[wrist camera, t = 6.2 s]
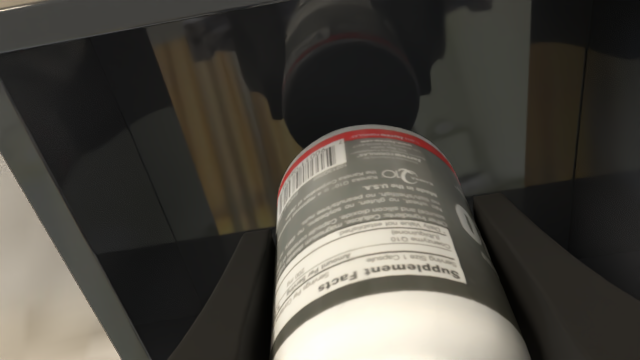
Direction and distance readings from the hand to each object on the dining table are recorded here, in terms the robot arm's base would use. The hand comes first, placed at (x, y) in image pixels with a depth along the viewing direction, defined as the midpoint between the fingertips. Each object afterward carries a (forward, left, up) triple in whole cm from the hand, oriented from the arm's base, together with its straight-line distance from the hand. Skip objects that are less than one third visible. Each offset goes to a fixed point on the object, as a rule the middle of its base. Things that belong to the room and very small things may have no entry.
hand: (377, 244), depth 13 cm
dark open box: (0, 0, -5) cm, 5 cm away
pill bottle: (0, 0, -2) cm, 2 cm away
